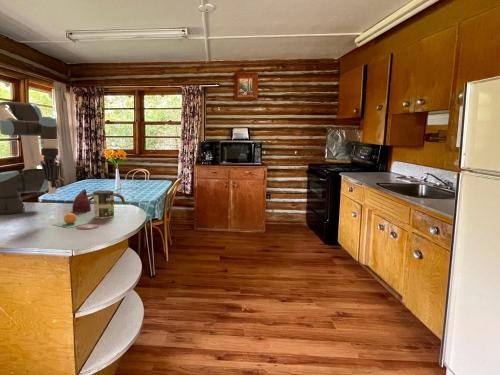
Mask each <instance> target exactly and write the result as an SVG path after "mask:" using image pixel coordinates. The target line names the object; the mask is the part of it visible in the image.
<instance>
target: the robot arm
mask: <svg viewBox="0 0 500 375" xmlns="http://www.w3.org/2000/svg"><path fill="white" fill-rule="evenodd" d="M0 134H1V135H4V136H9V137H10V136H20V139H21V146H22V154H23V162H24V163H23V164H24V168H23V169H22V172H21V173H20V171H18V170H12V171H11V170H10V171H3V172H0V215H1V216H2V215H3V216H5V215H6V216H7V215H15V214H20V213H25V211H26V207H25V206H26V205H25V204H24V202H23V200H22V198H21V194H28V193H30V194H31V193H42V192H45V191H48V195H52V194H56V192H57V188H56V181H58V180H59V178H60V177H59V176H60V167H61V161H58V158H57V156H59V148H58V147H59V140H58V123H57V119H56V118H55V117H54V116H43V113H42V111H41V108H40V106H39V105H37V104H36V103H30V102H18V101H9V100H8V101H7V100H6V101H1V102H0ZM39 138H40V141H39ZM40 147H41V148H40ZM41 156H43V159H42V157H41Z"/></svg>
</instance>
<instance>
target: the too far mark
mask: <svg viewBox="0 0 500 375" xmlns="http://www.w3.org/2000/svg"><path fill="white" fill-rule="evenodd" d="M99 227H100V225H99V224H94V223H93V224H92V223H88V224H84V225H80V226H76V229H77V230H82V231H86V230H94V229H98V228H99Z"/></svg>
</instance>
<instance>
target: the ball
mask: <svg viewBox="0 0 500 375" xmlns="http://www.w3.org/2000/svg"><path fill="white" fill-rule="evenodd" d="M63 220H64V222H66V223H67V224H73V223H74V222H75V221H76V220H77V216H76V214H74V212H73V213H72V212H68V213H67V214H64V217H63Z"/></svg>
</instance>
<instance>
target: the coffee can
mask: <svg viewBox="0 0 500 375" xmlns="http://www.w3.org/2000/svg"><path fill="white" fill-rule="evenodd" d="M92 193H93V211H94V212H93V213H94V218H95V219H103V220H104V219H109V218H110V219H111V218H114V217H115V203H114V200H115V199H114V191H113V190H96V191H93V192H92Z"/></svg>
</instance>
